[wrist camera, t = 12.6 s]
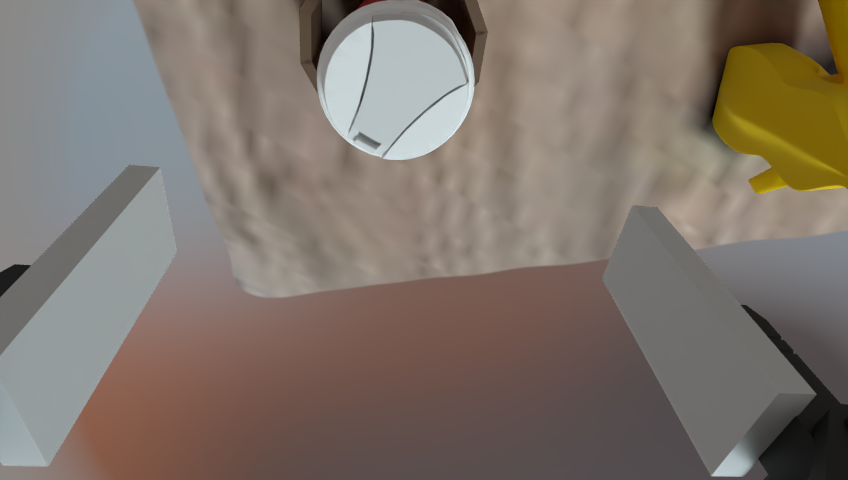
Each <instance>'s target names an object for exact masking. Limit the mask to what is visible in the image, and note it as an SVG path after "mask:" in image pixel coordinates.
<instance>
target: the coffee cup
mask: <svg viewBox="0 0 848 480" xmlns="http://www.w3.org/2000/svg"><path fill="white" fill-rule="evenodd" d="M474 82H475V79H474V68H473V63H472V59H471V55H470V53H469V51H468V48H467V46H466V43H465V42H464V40H463V39H462V37H461V35H460V34H459V32H458V30H457V28H456V27H455V25H454V23H453V21H452V20H451V19H450V18H449V17H448V16H447V15H445V14H444V13H443V12H442V11H440V10H438V9H437V8H435V7H433V6H431V5H430V4H427V3H426V2H425V1H424V0H364V1H363V2H362V3H361V4H360V6H359V7H358V8H357V9H356V11H354V12H352V13H351V14H349V15H348V16H347V17H346V18H344V19H343V20H342V21H341V22H340V23H339V24H338V25H337V26H336V27H335V29H334V30H333V31H332V32H331V34H330V35H329V37H328V39H327V40H326V42H325V44H324V47H323V49H322V52H321V54H320V58H319V62H318V67H317V88H318V94H319V98H320V102H321V105H322V108H323V110H324V112H325V114H326V116H327V118H328V120H329V121H330V123H331V124H332V126H333V127H334V128H335V129H336V131H337V132H338V133H339V134H340V135H341V136H342V137H343V138H344V139H346V140H347V141H348V142H349V143H351V144H352V145H354V146H355V147H357V148H358V149H360V150H362V151H365V152H367V153H369V154H372V155H376V156H379V157H382V158H383V159H390V160H405V159H411V158H415V157H419V156H422V155H424V154H427V153H429V152H431V151H433V150H434V149H436V148H437V147H439V146H440V145H442V144H443V143H444V142H445V141H446V140H448V139H449V138H450V137H451V136H452V135H453V134H454V133H455V132H456V130H457V129H458V128H459V127H460V125H461V124H462V122H463V120H464V119H465V117H466V115H467V113H468V110H469V108H470V105H471V102H472V98H473V93H474Z"/></svg>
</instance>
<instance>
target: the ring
mask: <svg viewBox="0 0 848 480" xmlns="http://www.w3.org/2000/svg"><path fill="white" fill-rule="evenodd" d="M459 1H460V4H461V6H462V9H463V12H464V15H465V18H464V25H463V32H462V39H463V40H464V42H465V43H466V46H467V48H468V51H469V53H470V55H471V59H472V63H473V68H474V79H475V82H474V87H475V86H476V84H477V83H478V82H479V78H480V72H481V66H482V61H483V55H484V49H485V44H486V38H487V29H486V26H485V23H484V20H483V17H482V14H481V11H480V8H479V5H478V2H477V0H459ZM299 17H300V59H301V65H302V67H303V68H304V70H305V72H306V74H307V76H308V77H309V79H310V81H311V83H312V84H313V86H314V88H315V90H316V91H317V93H318V88H317V67H318V62H319V58H320V54H321V52H322V49H323V47H324V43H323V41H322V0H305V1H304V3H303V5H302V7H301V9H300V10H299ZM318 95H319V94H318Z"/></svg>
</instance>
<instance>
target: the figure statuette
mask: <svg viewBox="0 0 848 480" xmlns="http://www.w3.org/2000/svg"><path fill="white" fill-rule="evenodd" d="M818 2H819V6H820V9H821V12H822V16H823V20H824V23H825V27H826V31H827V34H828V38H829V42H830V46H831V49H832V53H833V56H834V60H835V63H836V67H837V71H838V73H839V75H831V76H830V75H829V74H828V73H827V72H826V71H825V70H824V69H823V68H822V67H821V66H820V65H819V64H817V63H816V62H815V61H814V60H812V59H811V58H809V57H808V56H806V55H804V54H802V53H799V52H798V51H796V50H795V49H793V48H791V47H789V46H787V45H785V44H782V43H764V44H754V45H744V46H736V47H733V48H732V49H730V51H729V53H728V57H727V61H726V65H725V69H724V73H723V77H722V81H721V85H720V89H719V93H718V98H717V102H716V106H715V111H714V115H713V126H714V128H715V130H716V132H717V134H718V135H719V136H720V138H721V139H722V140H723V141H724V142H725V143H726V144H727V145H728V146H729V147H731V148H732V149H734V150H736V151H737V152H740V153H743V154H749V155H758V156H761V157H763V158H764V159H765V160H766V161H767V162H768V163H769V164H770V165H771V166H772V168H770V169H768V170H766V171H764V172H763V173H761V174H759V175H757V176H755V177H753V178H751V179H749V183H750V185H751V186H752V188H753V190H754V191H755V193H757V194H762V193H766V192H769V191H772V190H776V189H779V188H783V187H786V186H789V187H791V188H792V189H795V190H798V191H810V190H822V189H834V188H844V187H846V188H847V189H848V0H818Z"/></svg>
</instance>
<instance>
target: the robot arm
mask: <svg viewBox="0 0 848 480" xmlns="http://www.w3.org/2000/svg"><path fill="white" fill-rule="evenodd" d="M176 253H177V249H176V244H175V239H174V234H173V229H172V224H171V219H170V214H169V210H168V204H167V199H166V194H165V189H164V184H163V179H162V174H161V169H160V167H148V166H135V165H129V166H128V167H127V168H126V169H125V170H124V171H123V172H122V173H121V174H120V175H119V176H118V177H117V178H116V179H115V180H114V181H113V182H112V183H111V184H110V185H109V186H108V187H107V188H106V189H105V190H104V191H103V192H102V193H101V194H100V196H98V198H97V199H96V200H95V201H94V202H93V203H92V204H91V205H90V206H89V207H88V208H87V209H86V210H85V211H84V212H83V213H82V214H81V215H80V216H79V217H78V218H77V219H76V220H75V221H74V222H73V223H72V224H71V225H70V226H69V227H68V228H67V229H66V230H65V231H64V232H63V234H61V236H60V237H59V238H58V239H57V240H56V241H55V242H54V243H53V244H52V245H51V246H50V247H49V248H48V249H47V250H46V251H45V252H44V253H43V254H42V255H41V256H40V257H39V258H38V259H37V260H36V261H35V262H34V263H33V264H32V265H13V266H11V267H9V268H7V269H6V270H4V271H2V272H0V462H1V463H2V465H3V466H49V464H50V463H51V461H52V459H53V458H54V456H55V454H56V453H57V451H58V449H59V448H60V446H61V445H62V443H63V441H64V439H65V438H66V436H67V435H68V433H69V431H70V430H71V428H72V426H73V425H74V423H75V421H76V420H77V418H78V416H79V415H80V413H81V411H82V410H83V408H84V406H85V404H86V403H87V401H88V400H89V398H90V396H91V395H92V393H93V391H94V390H95V388H96V386H97V384H98V383H99V381H100V379H101V378H102V376H103V374H104V373H105V371H106V370H107V368H108V366H109V365H110V363H111V361H112V360H113V358H114V356H115V355H116V353H117V351H118V350H119V348H120V346H121V344H122V343H123V341H124V340H125V338H126V336H127V335H128V333H129V331H130V330H131V328H132V326H133V325H134V323H135V321H136V320H137V318H138V316H139V315H140V313H141V311H142V310H143V308H144V306H145V305H146V303H147V301H148V300H149V298H150V296H151V295H152V293H153V291H154V290H155V288H156V286H157V285H158V283H159V281H160V280H161V278H162V276H163V275H164V273H165V271H166V270H167V268H168V266H169V265H170V263H171V261H172V260H173V258H174V256H175V255H176ZM602 279H603V281H604V283H605V285H606V286H607V288H608V290H609V292H610V294H611V296H612V298H613V299H614V301H615V303H616V305H617V307H618V308H619V310H620V312H621V314H622V316H623V317H624V319H625V321H626V323H627V325H628V326H629V328H630V330H631V332H632V334H633V335H634V337H635V339H636V341H637V343H638V345H639V346H640V348H641V350H642V352H643V354H644V356H645V357H646V359H647V361H648V363H649V364H650V366H651V368H652V370H653V372H654V374H655V375H656V377H657V379H658V381H659V383H660V385H661V386H662V388H663V390H664V392H665V393H666V395H667V397H668V399H669V401H670V403H671V404H672V406H673V408H674V410H675V412H676V414H677V415H678V417H679V418H680V421H681V423H682V424H683V426H684V428H685V430H686V431H687V433H688V435H689V437H690V439H691V441H692V443H693V444H694V446H695V448H696V450H697V452H698V453H699V455H700V457H701V459H702V461H703V462H704V464H705V466H706V468H707V470H708V472H709V473H710V475H711V476H742V477H743V476H745V475H746V474H747V472H748V471H749V470H750V469H751V468H752V467H753V466H754V465H755V463H756V462H757V461H758V460H759V461H760V462H761V464H762V465H763V467H764V468H765V470H766V471H767V473H768V475H767V476H766V478H765V479H764V480H848V405H845V404H840V403H839V402H838V400H837V399H836V398H835V397H834V396H833V395H832V394H831V392H830V391H829V390H828V389H827V388H826V387H825V386H824V385H823V383H822V382H821V381H820V380H819V379H818V378H817V377H816V376H815V375H814V373H813V372H812V371H811V370H810V369H809V368H808V367H807V365H806V364H805V363H804V362H803V361H802V360H801V359H800V357H799V356H798V355H797V354H793V350H792V348H791V347H790V346H789V345H788V344H787V343H786V342H785V341H784V340H781V336H780V335H779V334H778V333H777V332H776V330H775V329H774V328H773V327H772V326H771V325H770V324H769V322H768V321H767V320H766V319H764V318H763V317H761V316H760V315H759V314H757V313H756V312H755V311H753V310H752V309H751V308H749V307H748V306H746V305H740V304H739V303H738V302H737V301H736V299H735V298H734V297H733V296H732V295H731V293H730V292H729V291H728V290H727V289H726V288H725V286H724V285H723V284H722V283H721V282H720V280H719V279H718V278H717V277H716V276H715V275H714V274H713V272H712V271H711V270H710V269H709V268H708V266H707V265H706V264H705V263H704V262H703V261H702V259H701V258H700V257H699V256H698V255H697V254H696V252H695V251H694V250H693V249H692V248H691V247H690V245H689V244H688V243H687V242H686V241H685V240H684V238H683V237H682V236H681V235H680V234H679V233H678V231H677V230H676V229H675V228H674V227H673V225H672V224H671V223H670V222H669V221H668V220H667V218H666V217H665V216H664V215H663V214H662V213H661V211H660V210H659V209H658V208H657V207H645V206H632V208H631V210H630V213H629V215H628V218H627V220H626V222H625V225H624V227H623V230H622V232H621V234H620V237H619V239H618V242H617V244H616V246H615V249H614V251H613V253H612V256H611V258H610V261H609V263H608V266H607V268H606V270H605V273H604V275H603V278H602Z"/></svg>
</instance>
